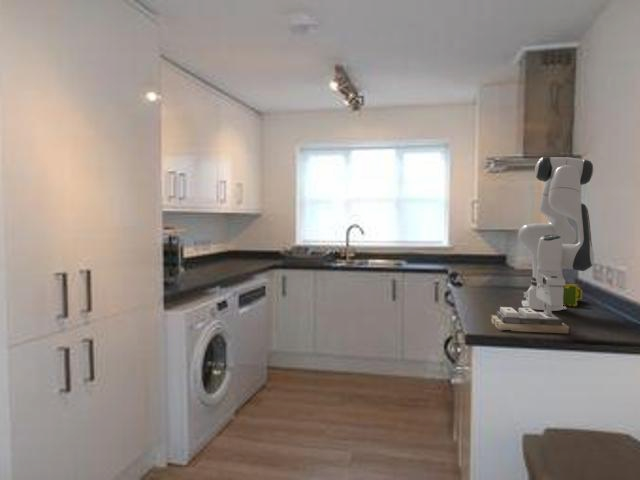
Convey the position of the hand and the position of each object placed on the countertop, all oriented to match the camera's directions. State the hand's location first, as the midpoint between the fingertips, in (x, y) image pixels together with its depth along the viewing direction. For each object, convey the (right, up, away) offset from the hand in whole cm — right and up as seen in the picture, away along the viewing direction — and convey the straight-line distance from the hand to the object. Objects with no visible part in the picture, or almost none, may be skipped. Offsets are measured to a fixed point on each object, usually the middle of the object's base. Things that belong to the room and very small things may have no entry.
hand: (547, 314), depth 187 cm
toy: (+35, -3, +63) cm, 72 cm away
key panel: (-7, -5, +1) cm, 9 cm away
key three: (0, -2, 0) cm, 2 cm away
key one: (-14, -1, +2) cm, 14 cm away
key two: (-7, -1, +1) cm, 7 cm away
